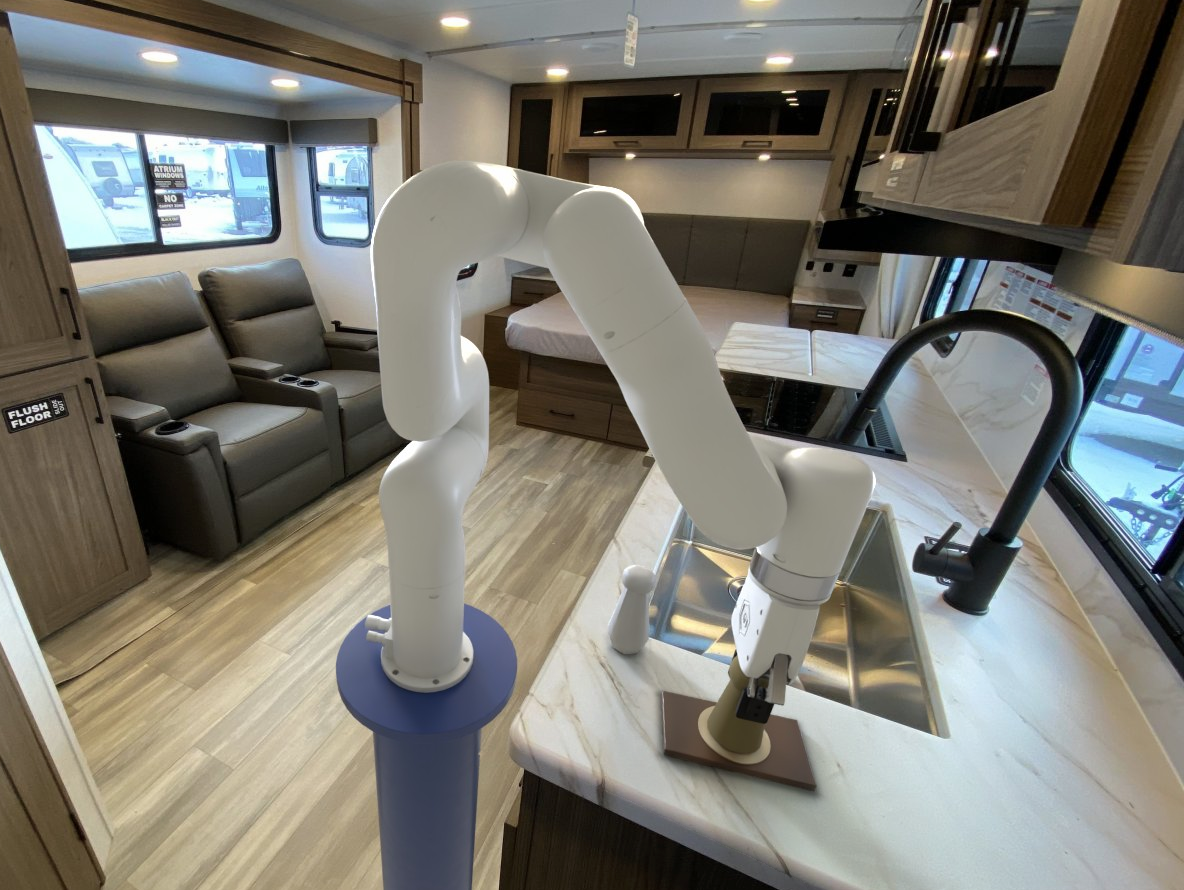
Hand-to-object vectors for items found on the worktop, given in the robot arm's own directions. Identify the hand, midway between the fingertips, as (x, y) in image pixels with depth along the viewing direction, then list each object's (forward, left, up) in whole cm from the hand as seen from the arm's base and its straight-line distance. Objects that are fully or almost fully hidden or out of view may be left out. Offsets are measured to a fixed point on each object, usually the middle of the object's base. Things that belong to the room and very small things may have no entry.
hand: (746, 696), depth 65 cm
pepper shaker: (0, 0, -6) cm, 6 cm away
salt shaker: (-13, +13, -7) cm, 19 cm away
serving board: (0, 0, -7) cm, 7 cm away
